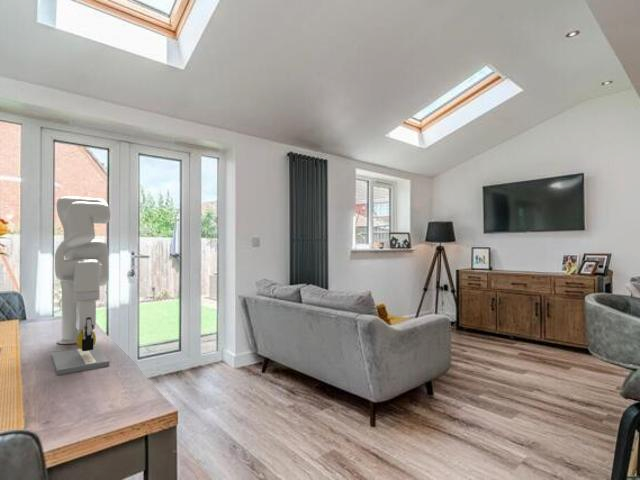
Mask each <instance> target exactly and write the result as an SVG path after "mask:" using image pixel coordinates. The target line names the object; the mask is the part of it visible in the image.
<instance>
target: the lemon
mask: <svg viewBox="0 0 640 480" xmlns="http://www.w3.org/2000/svg"><path fill="white" fill-rule="evenodd" d="M85 330H87V328H85ZM85 333H86V332H85ZM82 339H83V330H82V331H81V332H80V333H79V334H78V337H77V343H76V345H77V347H78V349H79V348H80V349H82ZM96 340H97V337H96V333H95V331H94V330H93V346H95V344H96Z"/></svg>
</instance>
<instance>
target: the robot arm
mask: <svg viewBox="0 0 640 480" xmlns="http://www.w3.org/2000/svg"><path fill="white" fill-rule="evenodd" d="M56 212H57V216H58V218H59V221H60V223H61V225H62V226H61V227H62V229H63V240H62V242H60V243H59V244H58V246H57V248H56V250H55V253H54V272H55V277H56V278H57V279H58V280H59V282H60V288H61V337H58V339H57V340H56V343H57V344H60V345H71V344H77V337H78V334H79V333H80V332H81V331H82V330H83V339H82V351H89V350H93V331H94V330H95V329H96V325H97V324H96V323H97V313H96V312H97V301H99V300H100V287H103V286H106V285H107V284H108V282H109V278H110V277H109V276H110V275H109V274H110V271H109V248H108V243H107V242H106V241H104V240H103V239H95V236H96V232H95V224H103V225H104V224H108V223H109V222H110V219H111V209H110V206H109V204H108V203H107V201H106V200H104V199H103V198H96V197H95V198H92V197H83V196H82V197H81V196H63V197H59V198H58V199H57V201H56ZM85 328H87V330H85ZM85 332H86V333H85Z"/></svg>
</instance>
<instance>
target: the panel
mask: <svg viewBox="0 0 640 480" xmlns="http://www.w3.org/2000/svg"><path fill="white" fill-rule="evenodd" d="M77 349H80V348H79V347H78V348H74V349H68V350H61V351H55V352H51V359H52V363H53V366H54V369H55V372H56V375H57V376H61V375H65V374H71V373H75V372H76V373H77V372H82V371H86V370H92V369H98V368H104V367H109V366H110V360H109V359H108V357H107V356H106V354H104V353H103V351H102V350H101V349H100V347H99V346H98V345H94V346H93V350H89V352H90V353H91V355H92V356H93V358H94V359H95V360H96V363H91V364H85V362H84V360H83V359H82V357H81V355H80V353H79V352H78V350H77Z"/></svg>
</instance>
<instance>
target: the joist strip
mask: <svg viewBox="0 0 640 480" xmlns="http://www.w3.org/2000/svg"><path fill="white" fill-rule="evenodd" d="M76 349H77V350H78V352H79V353H80V355H81V357H82V359H83V360H84V362H85V364H91V363H96V360H95V359H94V358H93V356H92V355H91V353H90V352H89V351H82V349H79V348H76Z"/></svg>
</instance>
